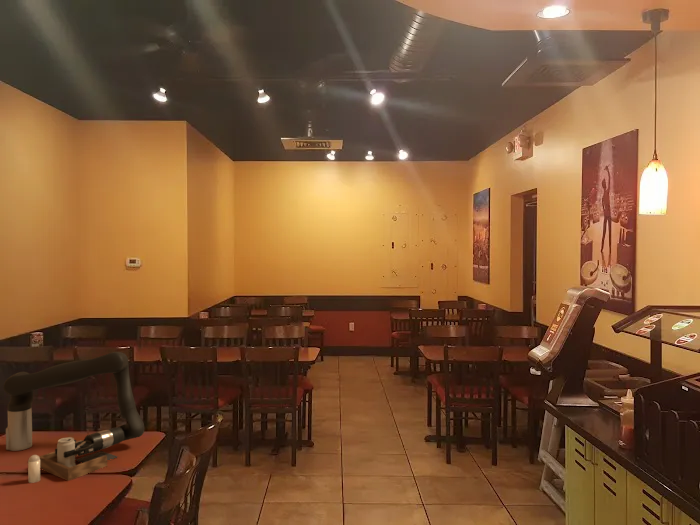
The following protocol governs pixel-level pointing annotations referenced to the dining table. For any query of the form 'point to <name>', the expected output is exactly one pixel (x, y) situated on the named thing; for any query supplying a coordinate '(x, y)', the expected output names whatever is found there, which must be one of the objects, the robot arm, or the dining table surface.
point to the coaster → (96, 456)
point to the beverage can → (65, 446)
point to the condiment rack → (69, 473)
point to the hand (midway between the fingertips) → (59, 453)
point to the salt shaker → (34, 469)
